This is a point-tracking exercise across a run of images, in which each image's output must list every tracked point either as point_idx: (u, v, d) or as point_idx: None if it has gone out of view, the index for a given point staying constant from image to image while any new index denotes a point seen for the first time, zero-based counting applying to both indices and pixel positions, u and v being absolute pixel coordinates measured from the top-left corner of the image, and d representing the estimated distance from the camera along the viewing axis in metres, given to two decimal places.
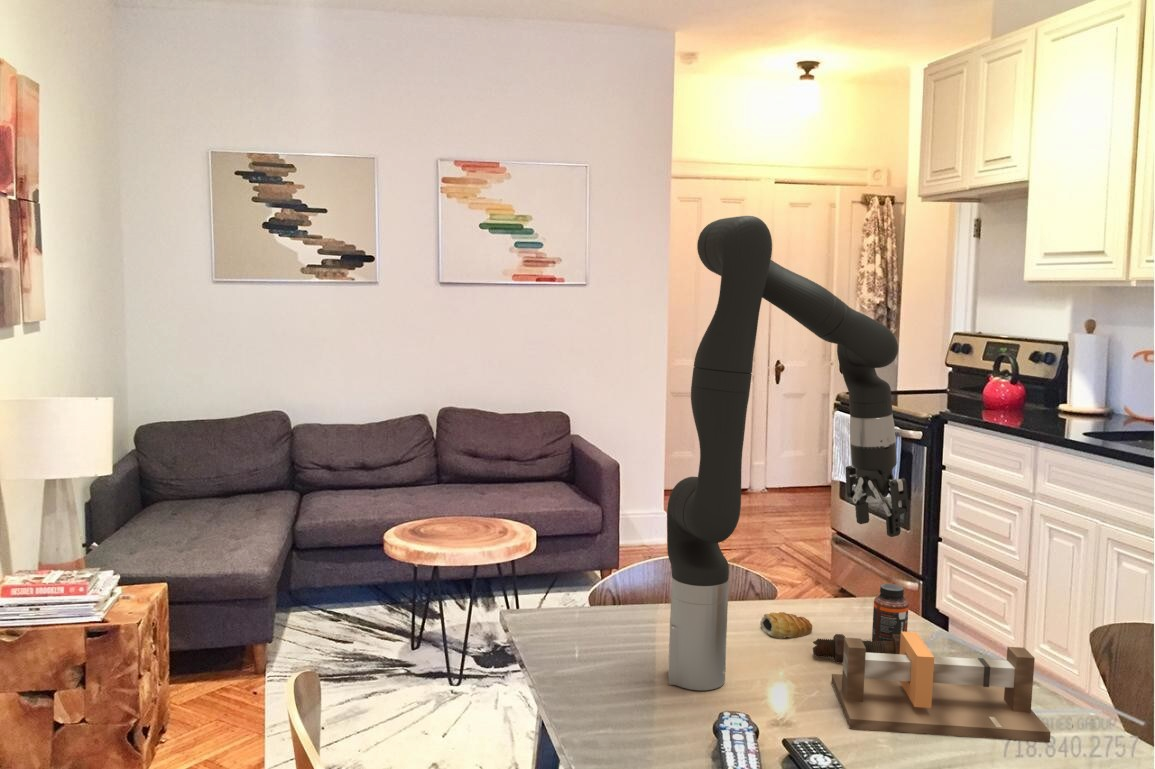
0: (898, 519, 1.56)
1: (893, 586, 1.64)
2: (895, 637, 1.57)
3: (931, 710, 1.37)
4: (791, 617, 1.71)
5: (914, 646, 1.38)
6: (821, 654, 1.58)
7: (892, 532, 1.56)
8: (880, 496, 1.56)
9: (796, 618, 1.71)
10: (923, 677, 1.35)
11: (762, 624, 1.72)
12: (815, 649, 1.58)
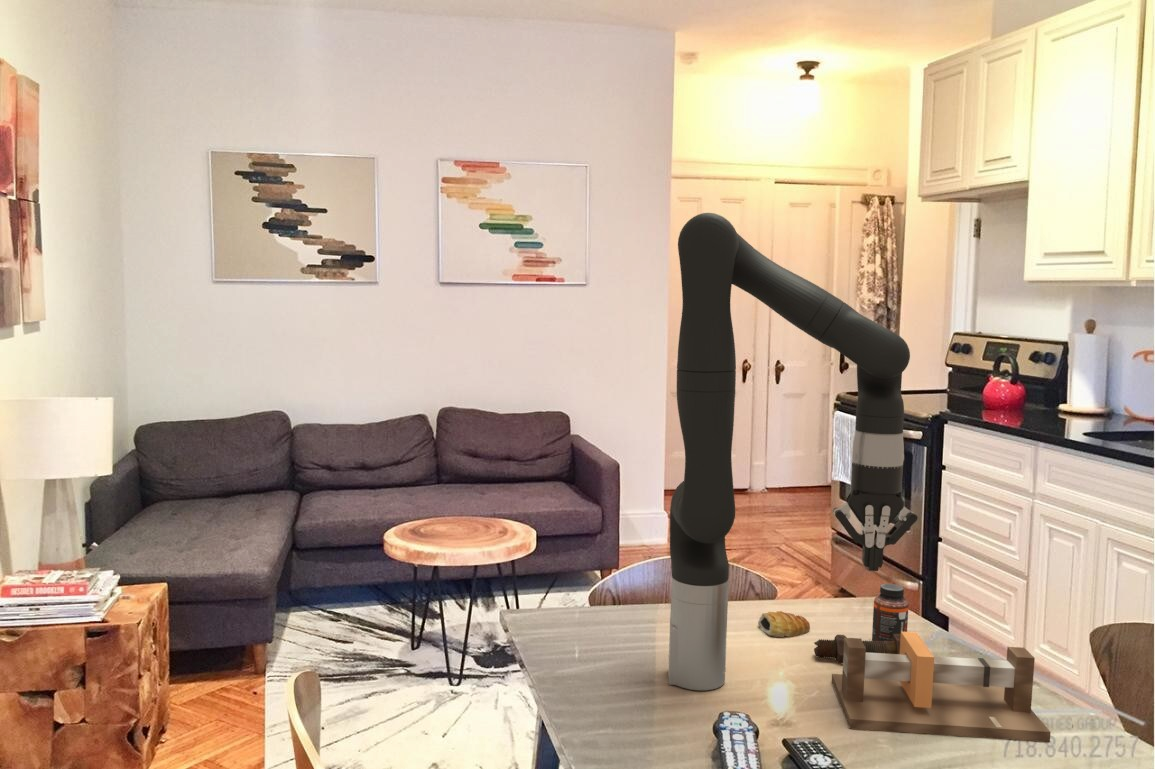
0: None
1: (893, 586, 1.64)
2: (896, 637, 1.57)
3: (931, 710, 1.37)
4: (789, 616, 1.71)
5: (914, 646, 1.38)
6: (823, 655, 1.58)
7: None
8: None
9: (794, 617, 1.72)
10: (923, 677, 1.35)
11: (760, 623, 1.73)
12: (817, 650, 1.58)
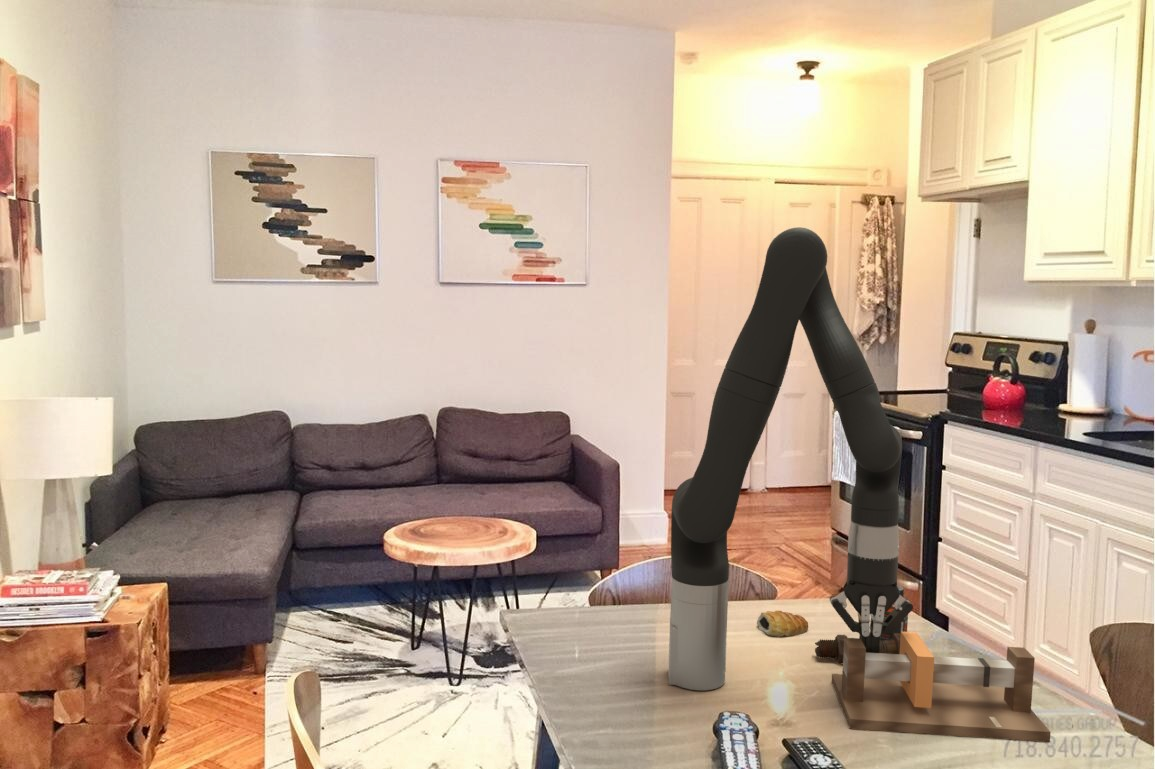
0: (861, 638, 1.43)
1: None
2: (897, 636, 1.57)
3: (931, 710, 1.37)
4: (788, 615, 1.72)
5: (914, 646, 1.38)
6: (824, 655, 1.58)
7: None
8: None
9: (793, 616, 1.72)
10: (923, 677, 1.35)
11: (759, 623, 1.73)
12: (818, 650, 1.58)
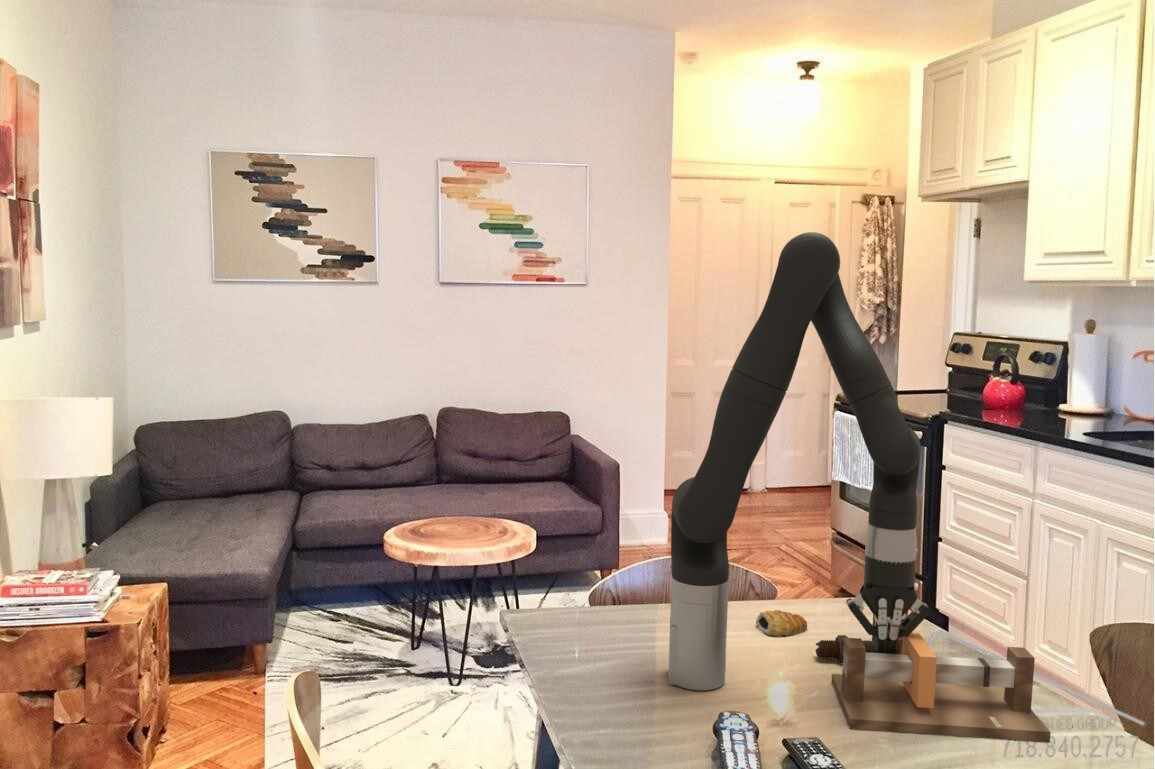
0: (877, 642, 1.43)
1: None
2: None
3: (931, 710, 1.37)
4: (787, 615, 1.72)
5: (917, 646, 1.38)
6: (825, 656, 1.57)
7: (877, 652, 1.44)
8: None
9: (792, 616, 1.72)
10: (925, 677, 1.35)
11: (758, 622, 1.73)
12: (819, 651, 1.57)
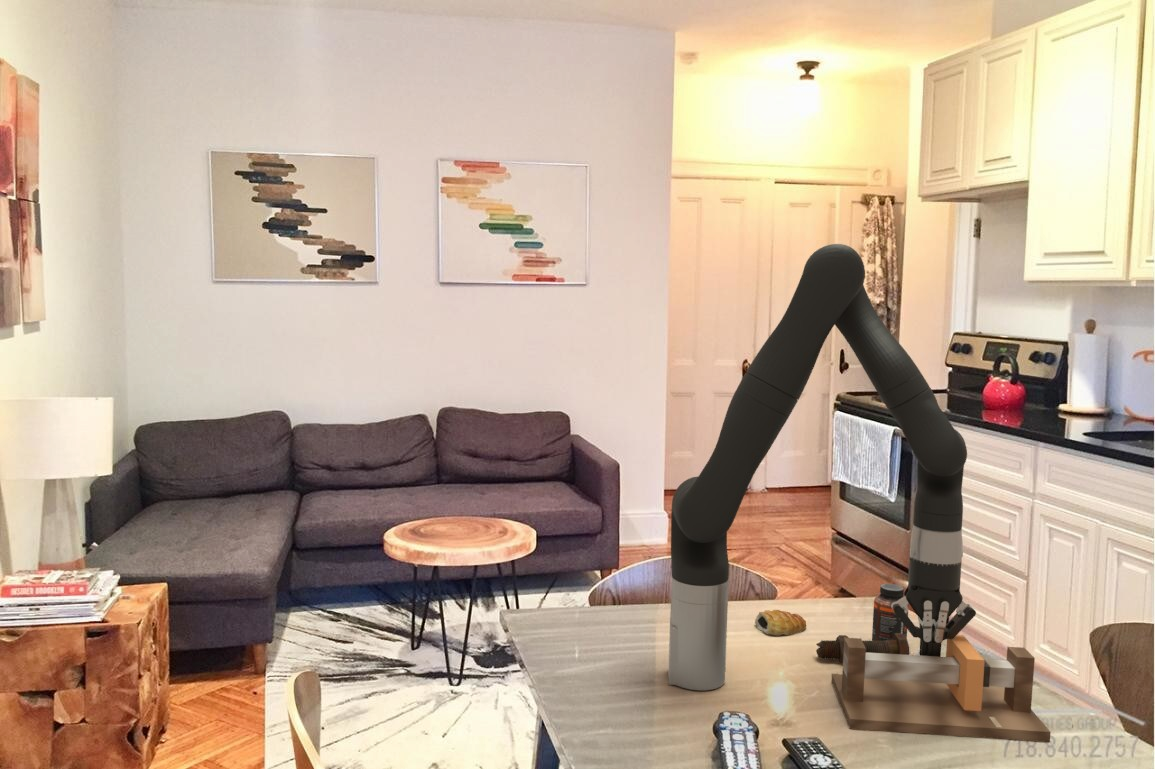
0: (922, 644, 1.42)
1: (893, 586, 1.64)
2: (898, 636, 1.57)
3: (931, 710, 1.37)
4: (786, 614, 1.72)
5: (963, 649, 1.38)
6: (826, 656, 1.57)
7: None
8: None
9: (791, 615, 1.72)
10: (973, 680, 1.34)
11: (757, 622, 1.73)
12: (820, 651, 1.57)
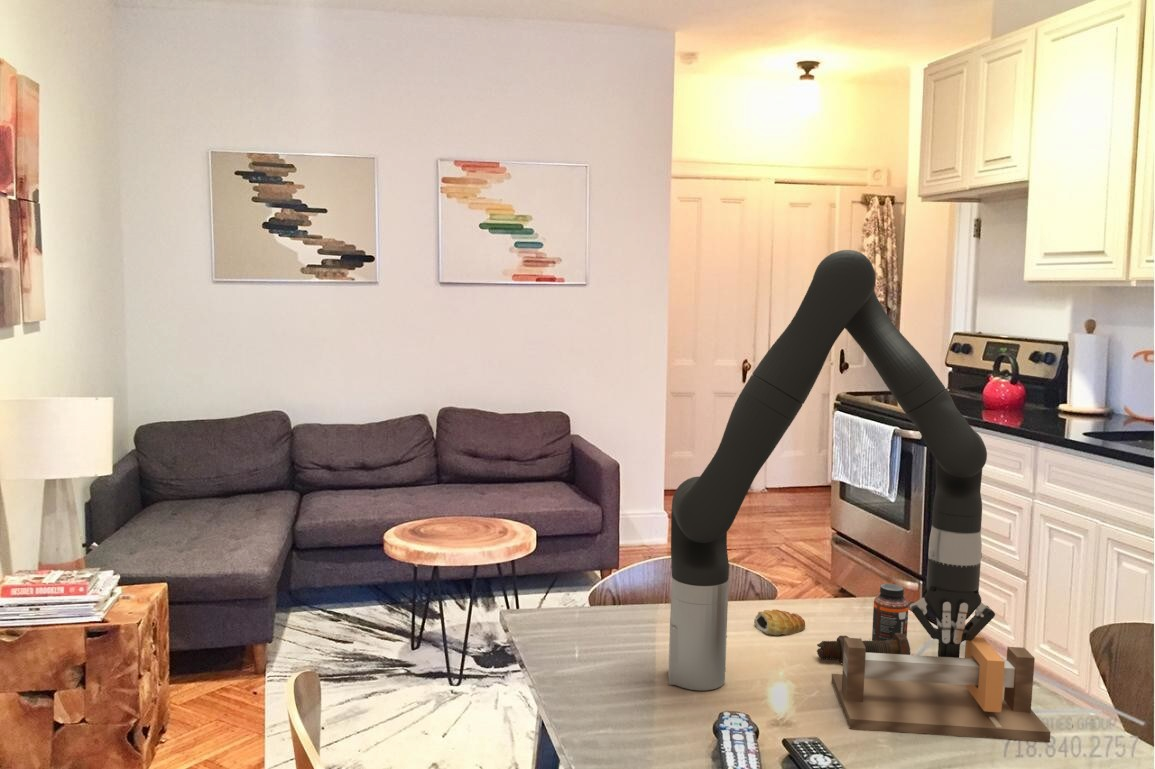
0: (940, 645, 1.42)
1: (893, 586, 1.64)
2: (898, 636, 1.58)
3: (931, 710, 1.37)
4: (785, 614, 1.72)
5: (982, 650, 1.37)
6: (827, 657, 1.57)
7: (940, 656, 1.43)
8: None
9: (790, 615, 1.73)
10: (993, 682, 1.34)
11: (756, 622, 1.73)
12: (821, 652, 1.57)
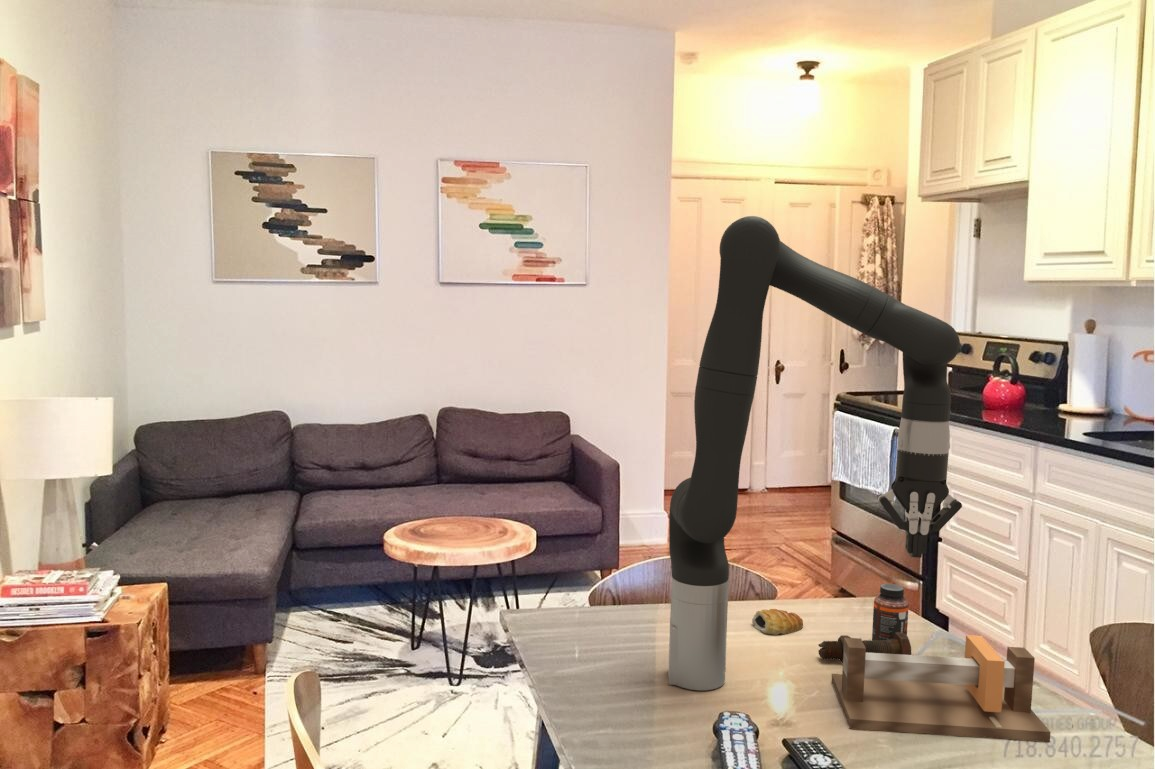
0: (908, 537, 1.43)
1: (893, 586, 1.64)
2: (899, 635, 1.58)
3: (931, 710, 1.37)
4: (783, 613, 1.73)
5: (982, 650, 1.37)
6: (829, 657, 1.57)
7: None
8: None
9: (788, 614, 1.73)
10: (993, 682, 1.34)
11: (754, 621, 1.74)
12: (823, 652, 1.57)
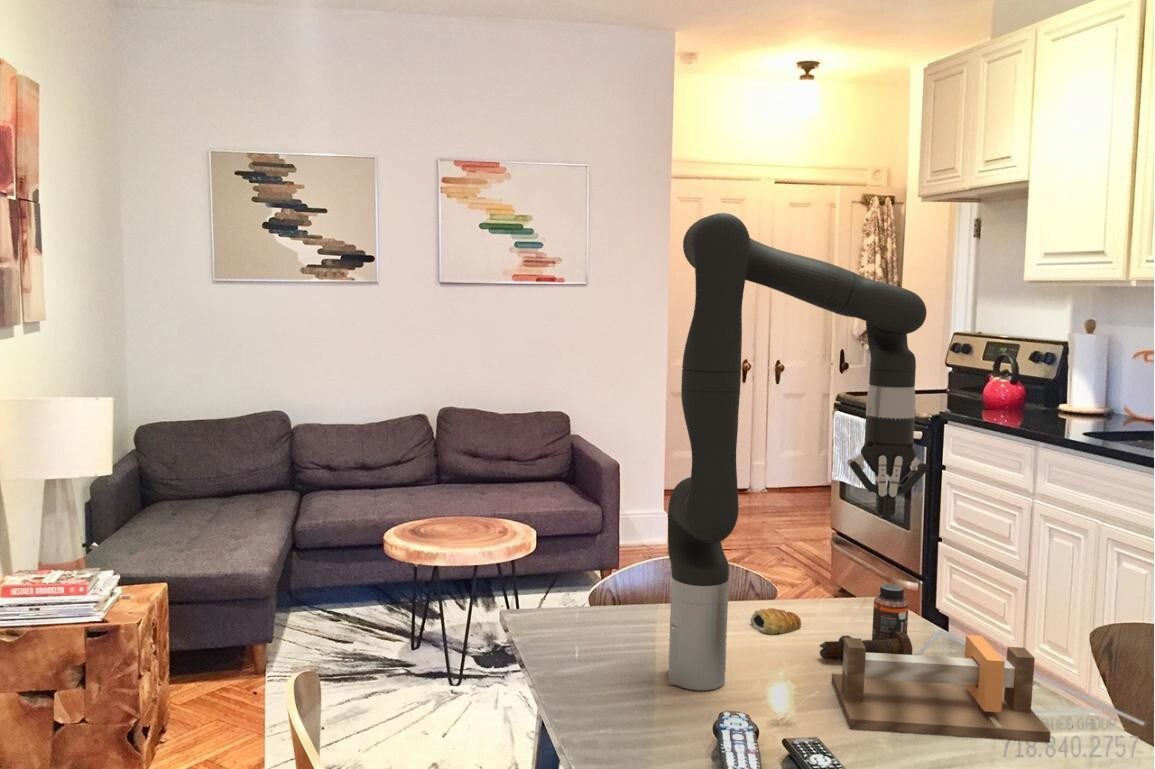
0: (877, 499, 1.49)
1: (893, 586, 1.64)
2: (900, 635, 1.58)
3: (931, 710, 1.37)
4: (781, 613, 1.73)
5: (982, 650, 1.37)
6: (831, 657, 1.57)
7: None
8: None
9: (786, 613, 1.73)
10: (993, 682, 1.34)
11: (753, 621, 1.74)
12: (825, 653, 1.57)
